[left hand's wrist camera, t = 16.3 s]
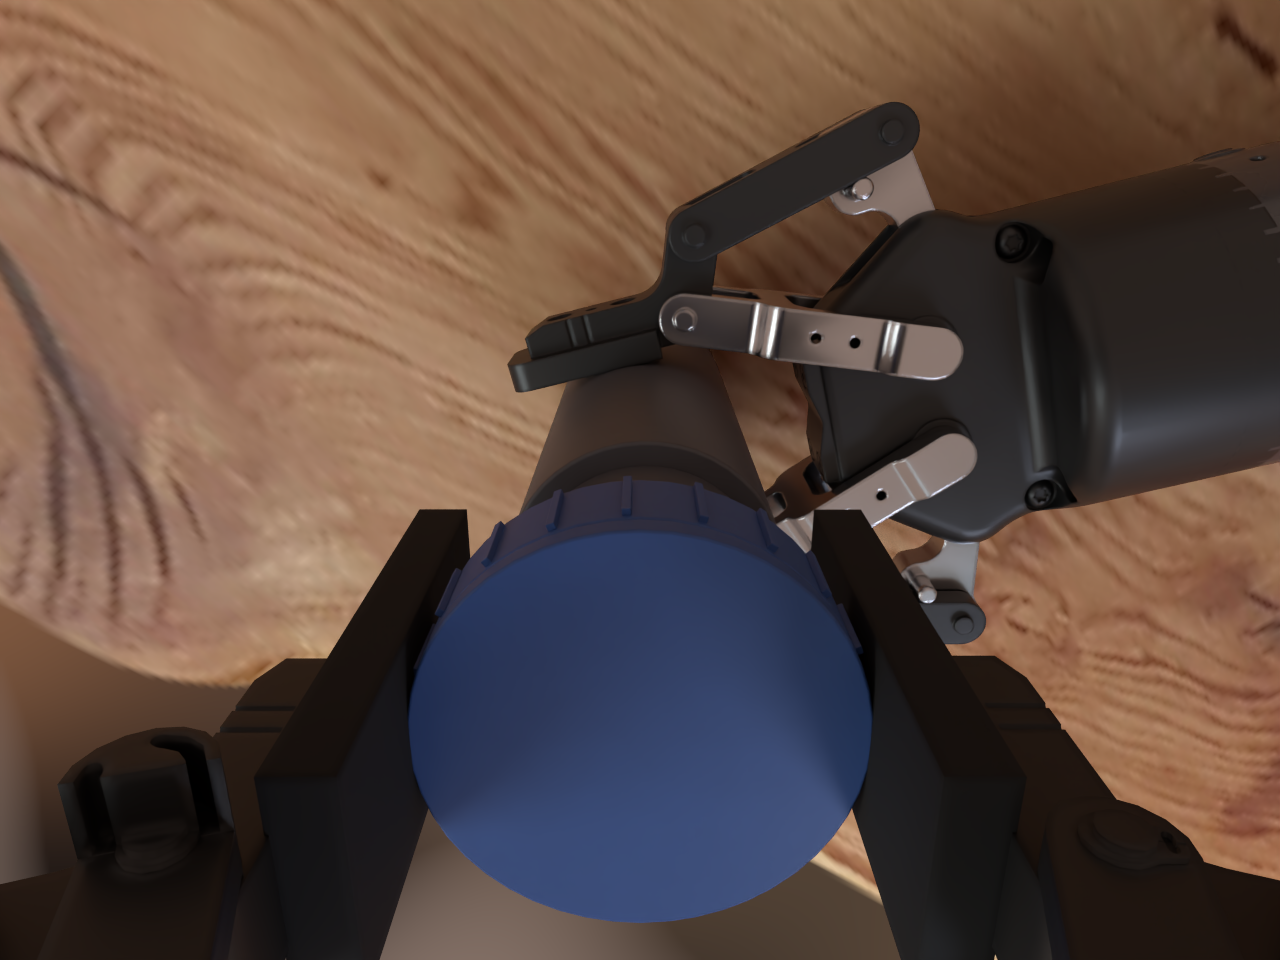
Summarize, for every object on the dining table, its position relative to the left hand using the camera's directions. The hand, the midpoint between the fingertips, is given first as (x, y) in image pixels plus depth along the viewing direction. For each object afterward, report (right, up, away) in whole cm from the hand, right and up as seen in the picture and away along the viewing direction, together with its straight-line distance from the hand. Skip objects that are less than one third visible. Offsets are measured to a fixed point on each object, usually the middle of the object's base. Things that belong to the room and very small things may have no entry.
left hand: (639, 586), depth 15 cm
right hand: (-2, +2, +9) cm, 9 cm away
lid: (0, -1, -4) cm, 4 cm away
